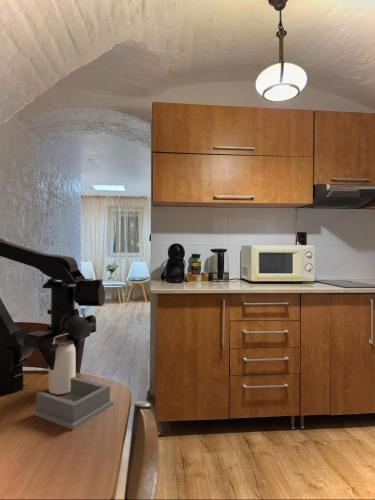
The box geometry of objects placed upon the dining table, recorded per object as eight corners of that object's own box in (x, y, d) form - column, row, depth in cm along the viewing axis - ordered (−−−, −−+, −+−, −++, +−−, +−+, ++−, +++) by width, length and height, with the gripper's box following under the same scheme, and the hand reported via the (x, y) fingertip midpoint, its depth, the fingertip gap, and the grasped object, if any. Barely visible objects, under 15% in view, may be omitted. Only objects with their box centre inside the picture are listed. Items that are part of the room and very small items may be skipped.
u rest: (33, 415, 73) (34, 394, 72) (76, 393, 83) (76, 376, 83) (73, 430, 67) (73, 407, 67) (113, 405, 77) (113, 386, 77)
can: (66, 396, 82) (66, 347, 81) (43, 393, 83) (43, 346, 83) (80, 385, 88) (80, 340, 88) (58, 383, 89) (58, 338, 89)
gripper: (54, 315, 73) (54, 386, 73) (111, 303, 90) (111, 360, 90) (22, 310, 78) (21, 376, 79) (81, 299, 95) (81, 353, 95)
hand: (62, 366), depth 85 cm, fingers closed on can, 6 cm apart
